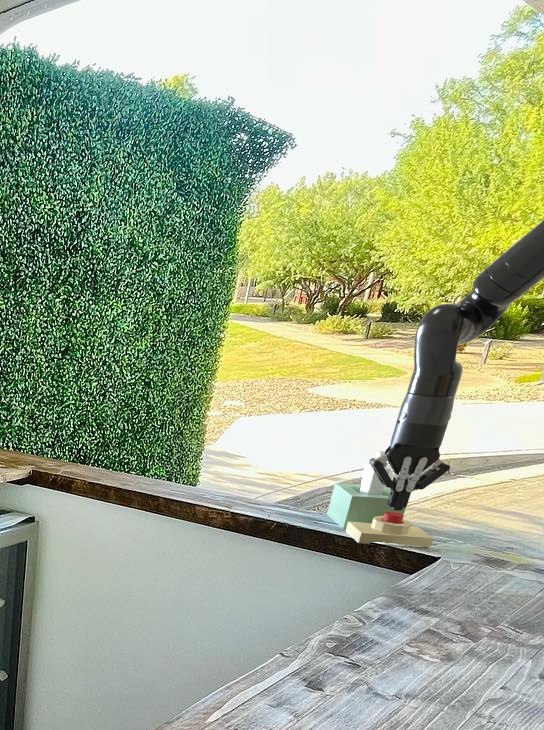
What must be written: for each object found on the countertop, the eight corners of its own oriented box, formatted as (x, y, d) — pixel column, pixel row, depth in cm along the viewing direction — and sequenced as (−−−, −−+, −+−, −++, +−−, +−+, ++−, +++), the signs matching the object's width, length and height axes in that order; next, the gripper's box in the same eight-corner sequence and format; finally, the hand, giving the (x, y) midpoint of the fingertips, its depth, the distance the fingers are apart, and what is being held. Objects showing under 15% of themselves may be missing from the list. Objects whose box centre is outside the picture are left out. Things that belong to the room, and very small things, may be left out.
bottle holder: (378, 518, 161) (388, 486, 158) (398, 533, 152) (408, 499, 149) (326, 514, 163) (335, 482, 160) (343, 529, 154) (352, 496, 152)
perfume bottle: (348, 518, 160) (368, 448, 155) (373, 522, 158) (394, 451, 153) (349, 524, 157) (369, 453, 151) (374, 528, 155) (396, 456, 149)
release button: (397, 520, 148) (400, 512, 147) (403, 525, 145) (406, 516, 145) (379, 519, 149) (382, 510, 148) (386, 524, 146) (388, 515, 145)
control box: (413, 536, 150) (419, 517, 149) (430, 549, 144) (436, 529, 142) (345, 531, 153) (350, 512, 151) (358, 543, 147) (363, 523, 145)
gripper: (454, 416, 141) (425, 506, 148) (373, 413, 144) (349, 501, 151) (475, 424, 134) (444, 518, 141) (390, 421, 137) (363, 512, 144)
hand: (395, 509), depth 146 cm, fingers closed
